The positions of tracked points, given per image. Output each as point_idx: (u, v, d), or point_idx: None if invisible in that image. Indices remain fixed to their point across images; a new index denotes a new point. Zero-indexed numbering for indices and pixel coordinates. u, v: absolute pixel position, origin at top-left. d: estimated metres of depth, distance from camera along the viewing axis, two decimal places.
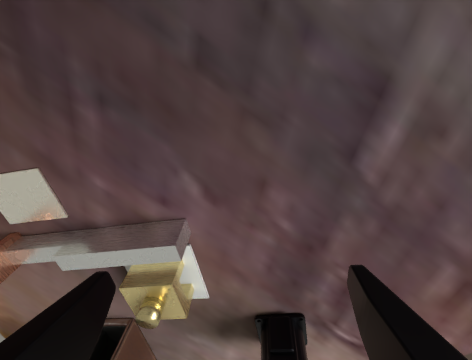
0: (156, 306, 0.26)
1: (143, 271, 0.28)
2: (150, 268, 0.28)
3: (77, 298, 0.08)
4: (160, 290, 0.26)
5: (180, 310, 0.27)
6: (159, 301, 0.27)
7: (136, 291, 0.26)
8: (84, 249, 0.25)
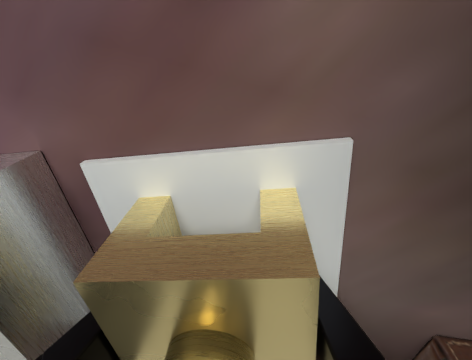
0: None
1: None
2: None
3: None
4: (123, 321, 0.06)
5: (250, 289, 0.05)
6: (176, 343, 0.06)
7: None
8: None
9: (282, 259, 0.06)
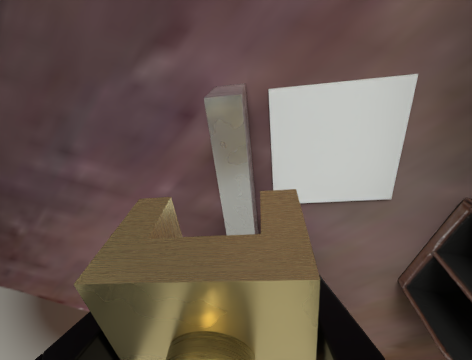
0: None
1: None
2: None
3: None
4: (123, 323, 0.06)
5: (251, 291, 0.05)
6: (176, 345, 0.06)
7: None
8: None
9: (282, 261, 0.06)
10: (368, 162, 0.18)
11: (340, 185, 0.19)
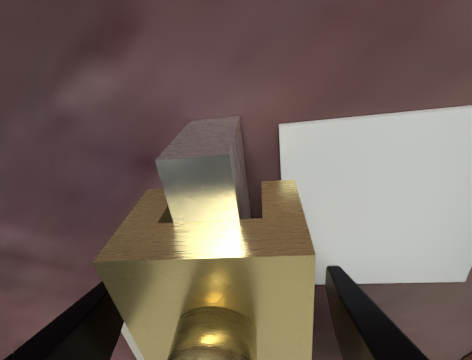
0: (177, 344, 0.06)
1: None
2: None
3: (98, 298, 0.08)
4: (136, 299, 0.07)
5: (254, 266, 0.06)
6: (185, 319, 0.07)
7: (158, 352, 0.08)
8: None
9: (282, 240, 0.06)
10: (435, 233, 0.11)
11: (388, 263, 0.12)
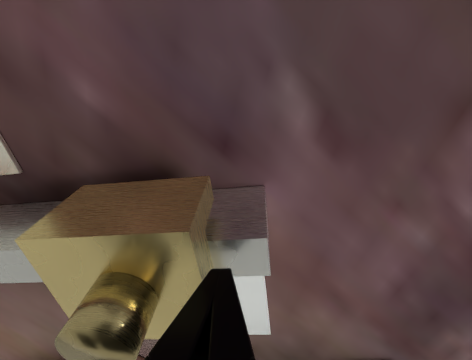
0: (132, 302, 0.08)
1: (101, 201, 0.10)
2: (123, 196, 0.10)
3: (209, 296, 0.08)
4: (149, 251, 0.08)
5: None
6: (143, 287, 0.09)
7: (71, 252, 0.08)
8: None
9: None
10: None
11: None
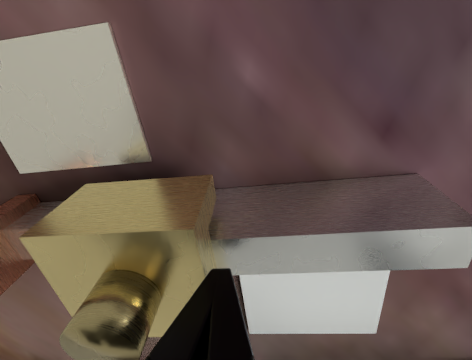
0: (136, 299, 0.08)
1: (104, 199, 0.10)
2: (127, 194, 0.10)
3: (210, 296, 0.08)
4: (154, 249, 0.08)
5: None
6: (147, 285, 0.09)
7: (76, 249, 0.08)
8: (210, 230, 0.10)
9: None
10: (293, 315, 0.17)
11: (265, 299, 0.17)
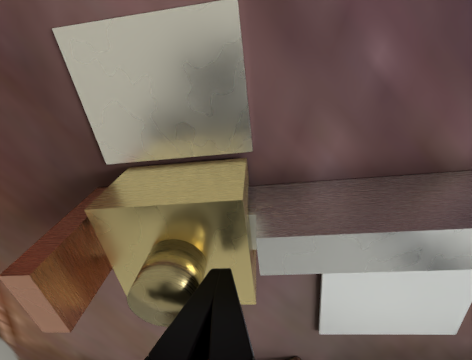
0: (190, 263, 0.09)
1: (151, 179, 0.11)
2: (171, 175, 0.11)
3: (209, 297, 0.08)
4: (205, 219, 0.09)
5: (245, 282, 0.11)
6: (196, 252, 0.10)
7: (134, 220, 0.09)
8: (341, 224, 0.09)
9: (254, 283, 0.11)
10: (371, 315, 0.17)
11: (344, 298, 0.16)
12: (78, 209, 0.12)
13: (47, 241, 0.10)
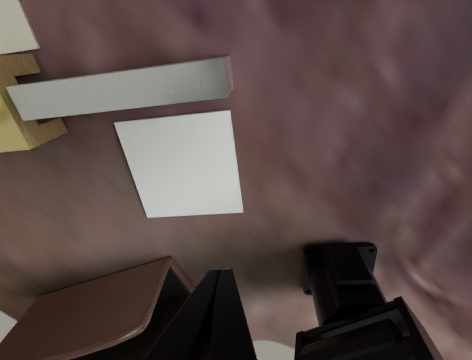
0: None
1: None
2: None
3: (208, 297, 0.08)
4: None
5: (14, 128, 0.16)
6: None
7: None
8: (62, 79, 0.15)
9: (31, 136, 0.17)
10: (176, 196, 0.22)
11: (150, 180, 0.21)
12: None
13: None
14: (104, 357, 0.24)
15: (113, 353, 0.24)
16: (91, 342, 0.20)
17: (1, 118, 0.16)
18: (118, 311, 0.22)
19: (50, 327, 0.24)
